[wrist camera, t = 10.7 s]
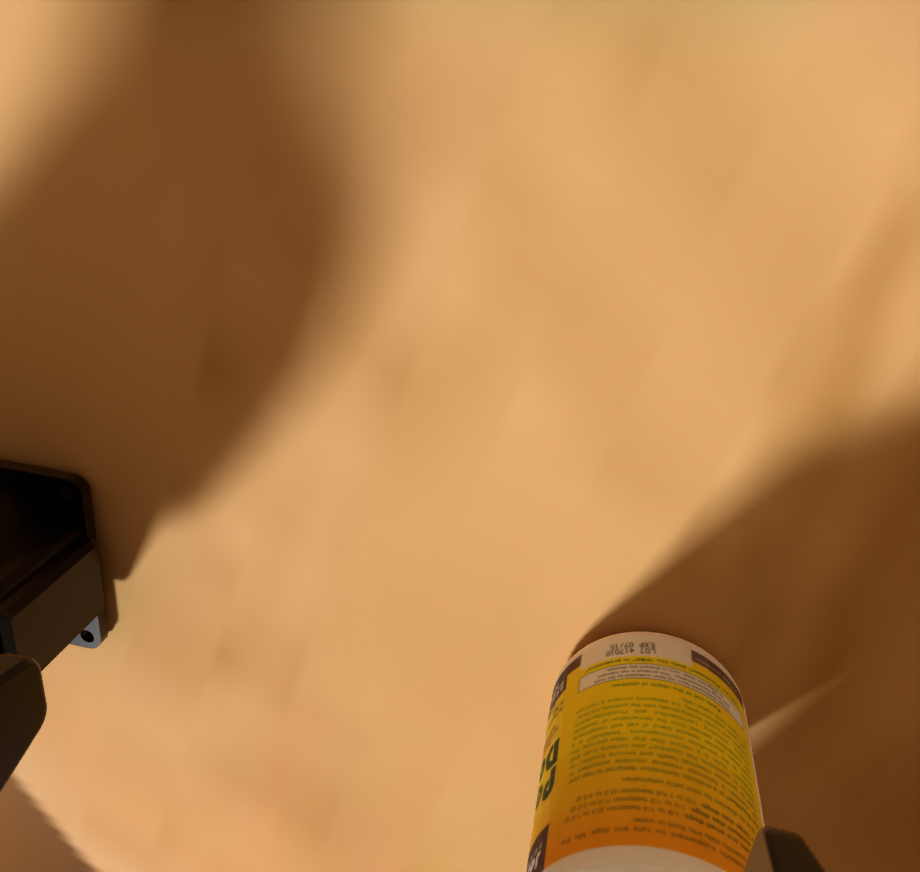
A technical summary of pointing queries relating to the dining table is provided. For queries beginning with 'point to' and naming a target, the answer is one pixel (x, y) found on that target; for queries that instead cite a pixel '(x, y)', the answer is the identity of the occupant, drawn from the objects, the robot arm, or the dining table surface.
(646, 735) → the supplement bottle
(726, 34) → the dining table surface
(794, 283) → the dining table surface
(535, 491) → the dining table surface
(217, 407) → the dining table surface
